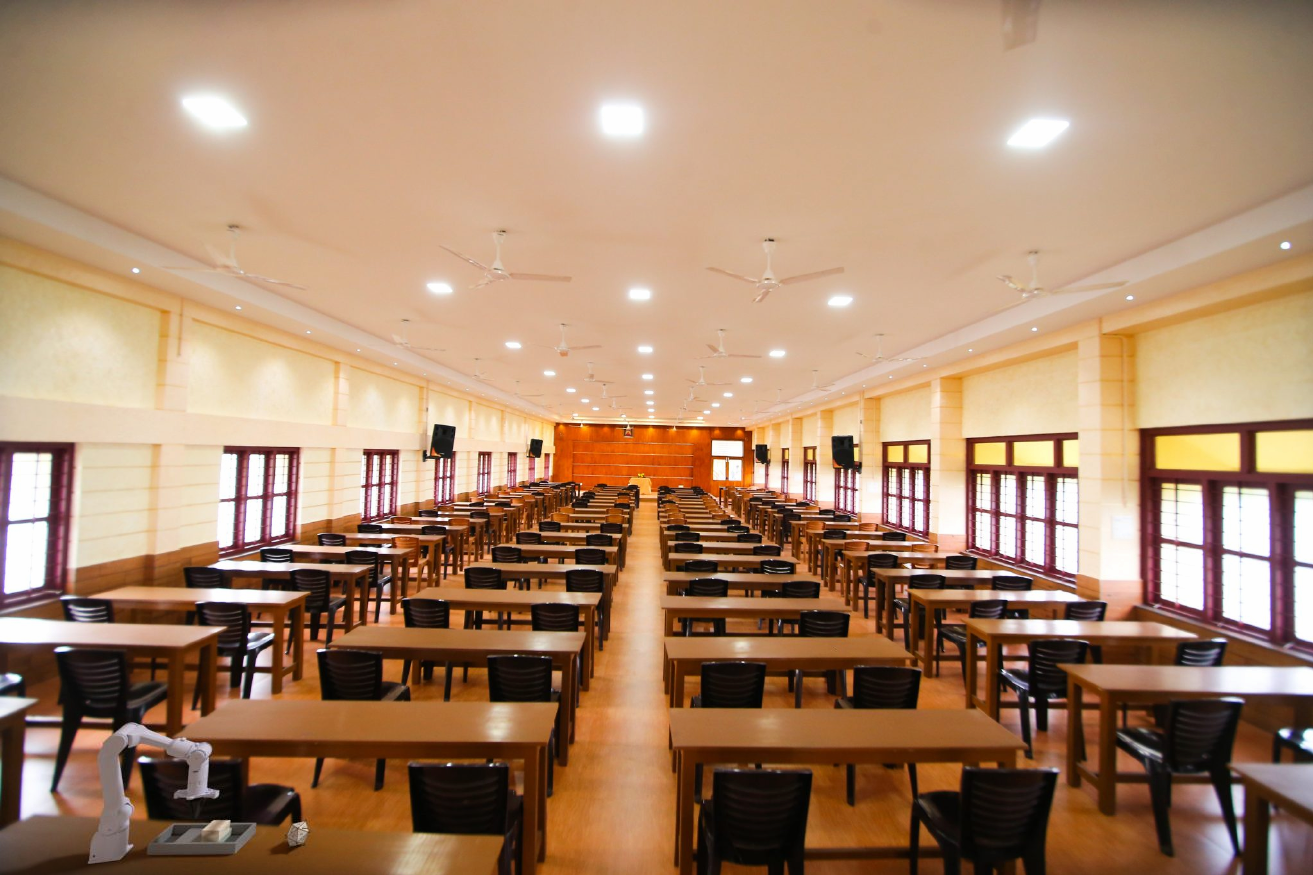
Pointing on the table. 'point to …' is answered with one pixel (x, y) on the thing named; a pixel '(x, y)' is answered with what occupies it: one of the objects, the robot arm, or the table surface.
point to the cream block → (215, 831)
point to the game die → (297, 833)
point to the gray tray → (199, 840)
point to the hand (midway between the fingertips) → (194, 817)
